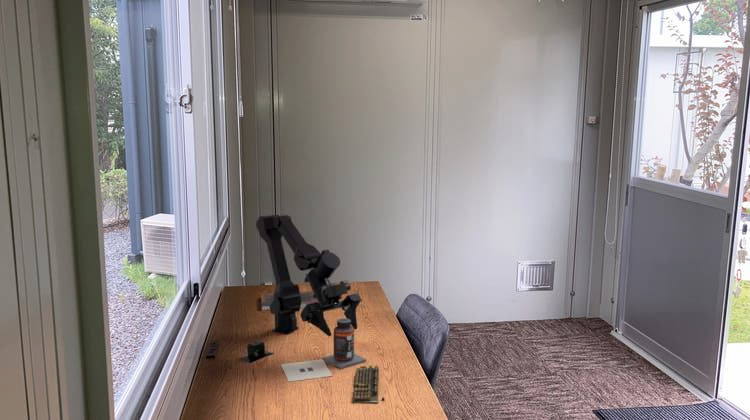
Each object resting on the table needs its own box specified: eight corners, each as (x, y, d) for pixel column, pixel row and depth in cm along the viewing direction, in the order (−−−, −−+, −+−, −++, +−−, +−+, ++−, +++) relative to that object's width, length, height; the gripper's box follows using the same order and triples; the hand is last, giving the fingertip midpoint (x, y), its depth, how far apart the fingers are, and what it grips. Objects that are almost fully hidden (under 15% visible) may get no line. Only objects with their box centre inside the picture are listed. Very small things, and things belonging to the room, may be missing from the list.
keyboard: (354, 370, 171) (354, 363, 171) (386, 370, 171) (386, 363, 171) (349, 405, 149) (349, 397, 149) (386, 405, 149) (386, 398, 149)
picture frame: (261, 312, 223) (320, 308, 227) (261, 305, 223) (320, 302, 227) (261, 299, 239) (316, 296, 243) (261, 293, 239) (316, 290, 243)
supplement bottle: (355, 361, 174) (355, 323, 172) (334, 362, 173) (334, 324, 171) (352, 353, 180) (352, 316, 178) (332, 354, 179) (332, 317, 177)
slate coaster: (322, 359, 177) (322, 357, 177) (347, 352, 183) (347, 350, 182) (340, 369, 170) (340, 367, 170) (366, 361, 176) (366, 359, 176)
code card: (281, 365, 173) (281, 364, 173) (322, 359, 177) (322, 359, 177) (288, 381, 162) (288, 381, 162) (332, 376, 165) (332, 375, 165)
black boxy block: (264, 349, 187) (263, 334, 186) (280, 354, 182) (280, 339, 182) (231, 361, 177) (231, 346, 177) (248, 367, 173) (247, 351, 172)
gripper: (305, 277, 171) (327, 325, 164) (358, 267, 183) (381, 311, 176) (291, 297, 178) (312, 344, 172) (342, 287, 190) (364, 330, 183)
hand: (343, 332), depth 175 cm, fingers open, 9 cm apart
